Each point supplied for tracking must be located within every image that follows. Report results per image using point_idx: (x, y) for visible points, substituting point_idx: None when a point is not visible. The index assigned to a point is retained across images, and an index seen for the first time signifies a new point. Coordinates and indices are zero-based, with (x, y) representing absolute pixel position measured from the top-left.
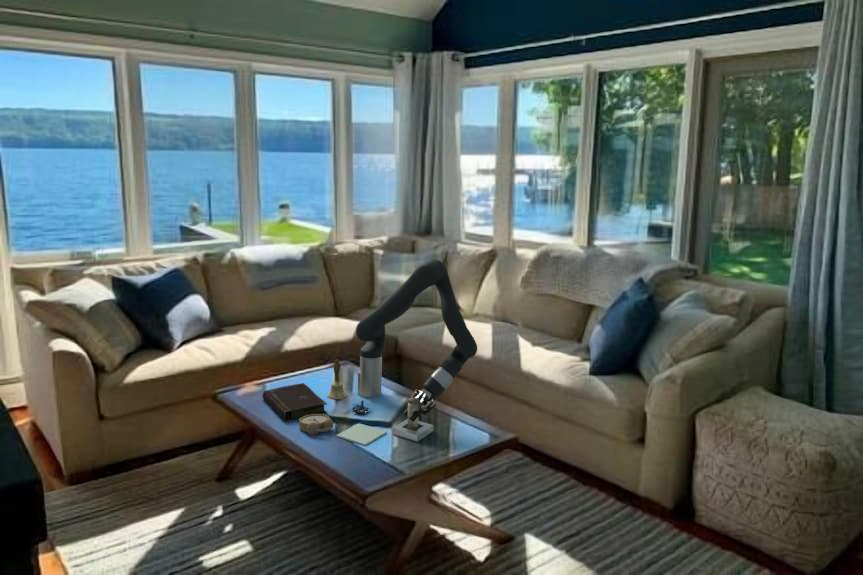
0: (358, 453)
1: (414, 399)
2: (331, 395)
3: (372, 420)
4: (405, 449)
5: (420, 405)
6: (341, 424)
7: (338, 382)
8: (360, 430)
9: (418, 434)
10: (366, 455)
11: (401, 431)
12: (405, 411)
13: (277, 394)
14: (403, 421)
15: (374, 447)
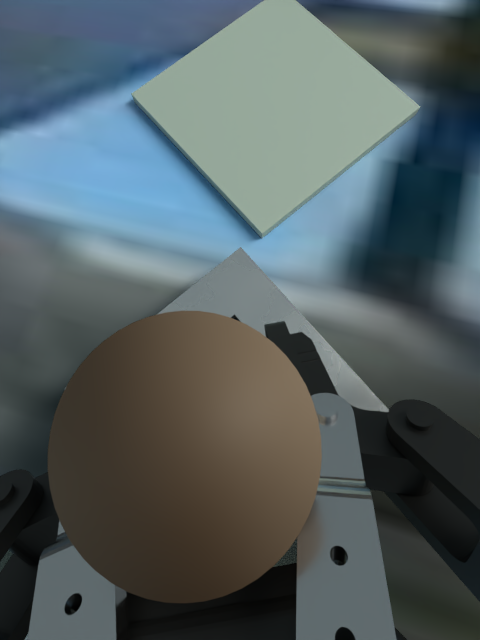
0: (66, 62)
1: (185, 468)
2: None
3: (470, 198)
4: (20, 289)
5: (64, 539)
6: (431, 36)
7: None
8: (312, 99)
9: None
10: (31, 91)
11: (179, 300)
12: (281, 335)
13: None
14: (334, 356)
15: (103, 140)
